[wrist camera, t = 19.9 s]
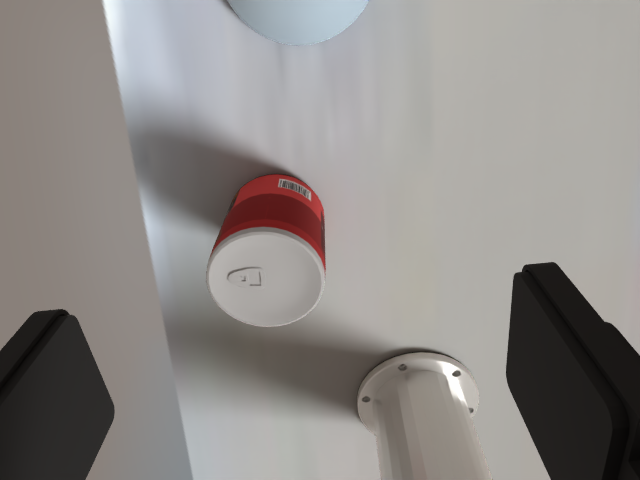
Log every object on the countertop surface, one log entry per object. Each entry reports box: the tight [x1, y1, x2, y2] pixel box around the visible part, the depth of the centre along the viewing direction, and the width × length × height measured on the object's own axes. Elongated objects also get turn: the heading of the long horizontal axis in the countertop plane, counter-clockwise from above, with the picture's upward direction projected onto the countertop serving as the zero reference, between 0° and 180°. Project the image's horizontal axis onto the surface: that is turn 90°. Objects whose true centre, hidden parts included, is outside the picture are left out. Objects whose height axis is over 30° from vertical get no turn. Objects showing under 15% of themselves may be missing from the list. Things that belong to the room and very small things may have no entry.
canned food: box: [206, 174, 326, 327], centre depth 38 cm, size 8×8×11 cm
